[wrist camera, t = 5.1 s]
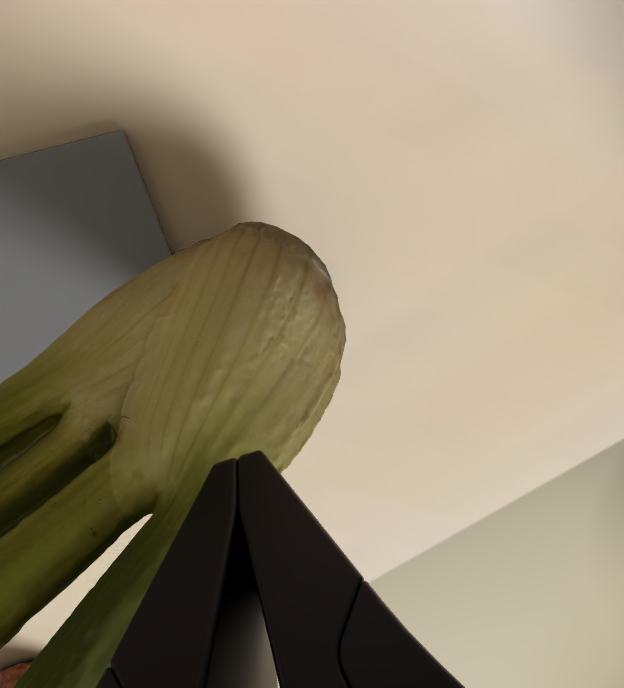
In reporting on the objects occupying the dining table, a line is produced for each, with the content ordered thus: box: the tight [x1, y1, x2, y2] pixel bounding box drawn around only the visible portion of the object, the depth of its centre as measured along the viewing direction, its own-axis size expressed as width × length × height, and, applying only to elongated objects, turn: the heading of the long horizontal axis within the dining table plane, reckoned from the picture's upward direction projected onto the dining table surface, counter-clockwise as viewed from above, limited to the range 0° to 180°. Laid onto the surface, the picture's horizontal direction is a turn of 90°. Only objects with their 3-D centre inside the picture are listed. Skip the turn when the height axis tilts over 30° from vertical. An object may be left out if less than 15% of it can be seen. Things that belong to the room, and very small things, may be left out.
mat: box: [0, 129, 172, 384], centre depth 15 cm, size 12×11×1 cm
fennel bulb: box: [0, 222, 346, 688], centre depth 11 cm, size 6×5×12 cm
